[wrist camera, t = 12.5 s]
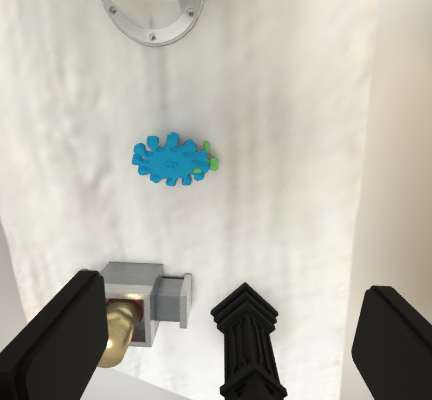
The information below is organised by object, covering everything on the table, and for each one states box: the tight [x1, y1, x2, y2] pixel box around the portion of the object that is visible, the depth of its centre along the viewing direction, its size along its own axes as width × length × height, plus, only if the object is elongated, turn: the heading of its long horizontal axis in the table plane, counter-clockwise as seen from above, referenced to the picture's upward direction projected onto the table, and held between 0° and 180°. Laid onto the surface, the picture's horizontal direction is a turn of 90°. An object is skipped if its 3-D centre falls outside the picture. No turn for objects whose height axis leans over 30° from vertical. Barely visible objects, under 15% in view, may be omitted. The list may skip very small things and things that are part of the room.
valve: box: [99, 262, 191, 347], centre depth 40 cm, size 9×18×8 cm, turn 88°
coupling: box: [97, 298, 141, 368], centre depth 35 cm, size 5×5×7 cm
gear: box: [132, 132, 218, 186], centre depth 36 cm, size 11×6×10 cm
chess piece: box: [211, 282, 288, 400], centre depth 35 cm, size 8×8×20 cm
